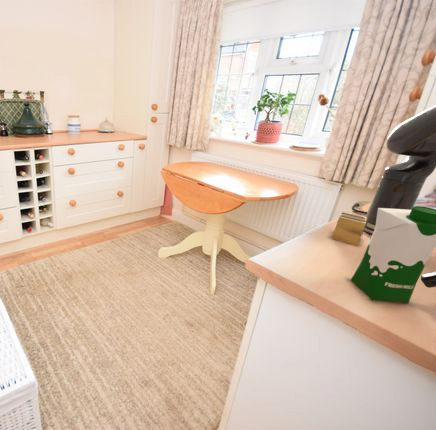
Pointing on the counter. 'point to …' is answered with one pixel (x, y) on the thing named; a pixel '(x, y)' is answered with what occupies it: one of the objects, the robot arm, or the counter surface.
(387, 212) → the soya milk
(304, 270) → the counter surface
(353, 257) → the counter surface
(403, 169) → the robot arm
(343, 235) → the tan block
